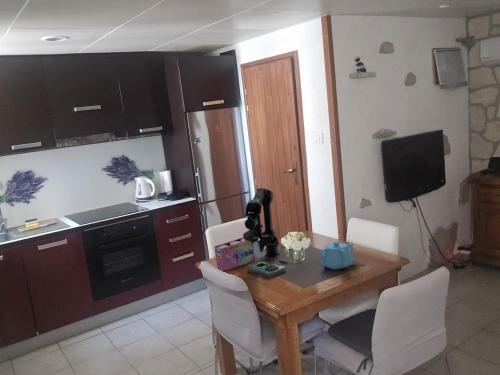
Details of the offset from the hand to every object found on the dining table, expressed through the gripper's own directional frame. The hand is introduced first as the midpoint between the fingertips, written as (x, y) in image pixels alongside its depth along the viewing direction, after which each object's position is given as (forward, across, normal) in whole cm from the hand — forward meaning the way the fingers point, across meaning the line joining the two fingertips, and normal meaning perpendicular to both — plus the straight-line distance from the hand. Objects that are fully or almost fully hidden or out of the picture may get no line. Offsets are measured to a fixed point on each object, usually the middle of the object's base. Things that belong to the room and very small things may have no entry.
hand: (259, 251), depth 244 cm
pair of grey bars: (+11, +3, +12) cm, 16 cm away
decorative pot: (+11, +33, +27) cm, 44 cm away
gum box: (+11, -20, -2) cm, 23 cm away
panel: (+11, +5, 0) cm, 12 cm away
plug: (+2, 0, 0) cm, 2 cm away
